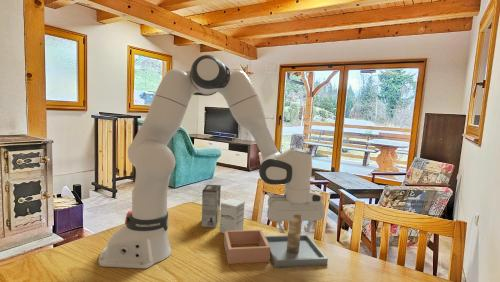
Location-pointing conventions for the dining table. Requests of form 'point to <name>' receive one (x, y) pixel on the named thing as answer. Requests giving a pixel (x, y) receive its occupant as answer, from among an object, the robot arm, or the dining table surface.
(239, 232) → the open square box
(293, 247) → the dowel
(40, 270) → the dining table surface
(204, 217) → the coffee box
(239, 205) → the supplement box
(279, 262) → the tray
